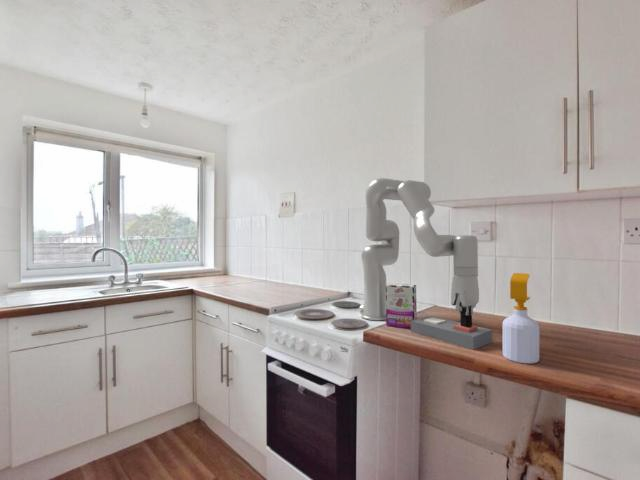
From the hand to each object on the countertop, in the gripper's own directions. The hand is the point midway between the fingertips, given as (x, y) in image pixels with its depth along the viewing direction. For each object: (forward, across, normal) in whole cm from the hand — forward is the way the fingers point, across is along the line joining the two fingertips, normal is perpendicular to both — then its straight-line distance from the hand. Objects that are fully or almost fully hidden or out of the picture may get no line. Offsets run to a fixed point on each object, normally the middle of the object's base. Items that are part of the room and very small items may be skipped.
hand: (466, 326), depth 111 cm
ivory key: (+3, 0, -12) cm, 13 cm away
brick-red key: (+2, 0, 0) cm, 2 cm away
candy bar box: (+5, +3, -25) cm, 26 cm away
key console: (+5, 0, -6) cm, 8 cm away
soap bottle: (+5, +2, +18) cm, 19 cm away
